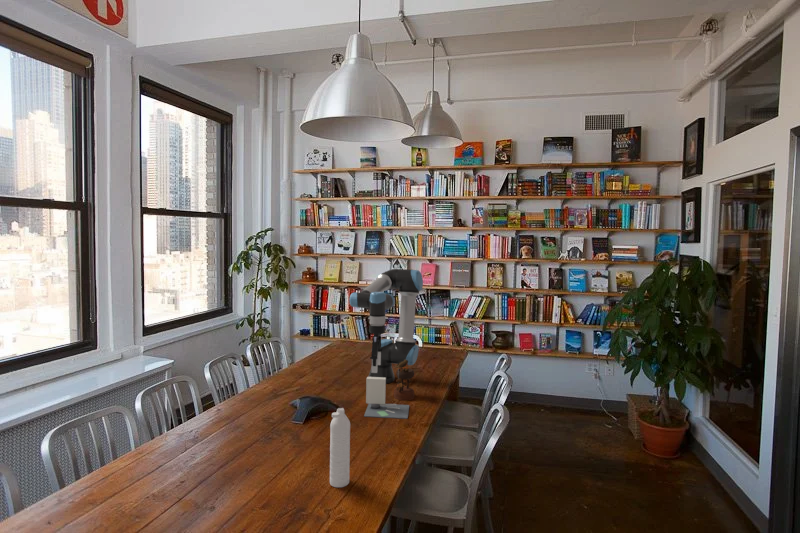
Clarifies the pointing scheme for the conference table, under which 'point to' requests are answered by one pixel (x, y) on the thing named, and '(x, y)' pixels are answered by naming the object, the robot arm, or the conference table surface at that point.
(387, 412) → the dial board
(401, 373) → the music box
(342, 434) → the water bottle
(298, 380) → the conference table surface
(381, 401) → the white flat block
